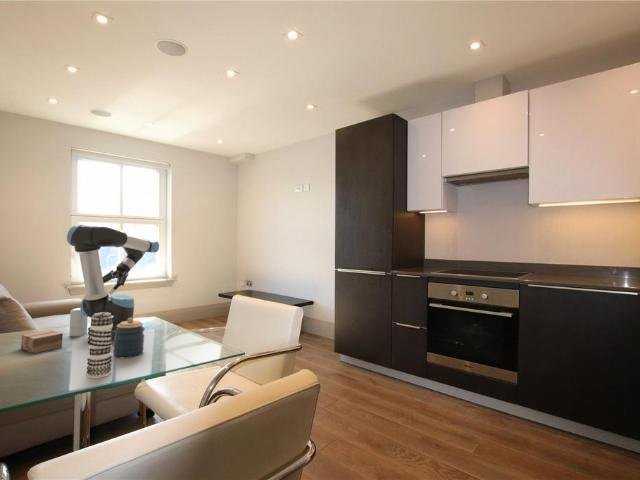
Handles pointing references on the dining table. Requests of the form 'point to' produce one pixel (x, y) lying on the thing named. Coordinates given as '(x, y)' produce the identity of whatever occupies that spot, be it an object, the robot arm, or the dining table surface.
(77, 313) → the skincare box
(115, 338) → the canister
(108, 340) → the decorative candle
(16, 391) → the dining table surface
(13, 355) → the dining table surface
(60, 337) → the walnut block
